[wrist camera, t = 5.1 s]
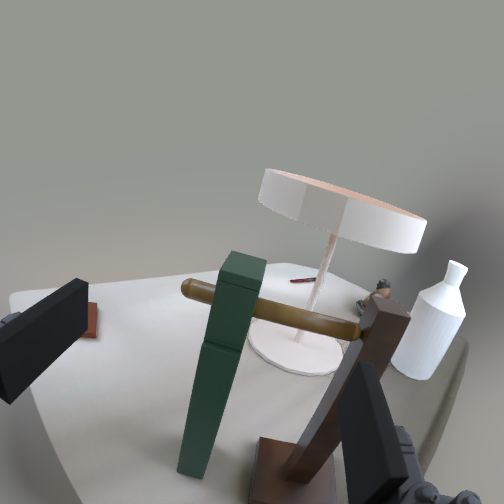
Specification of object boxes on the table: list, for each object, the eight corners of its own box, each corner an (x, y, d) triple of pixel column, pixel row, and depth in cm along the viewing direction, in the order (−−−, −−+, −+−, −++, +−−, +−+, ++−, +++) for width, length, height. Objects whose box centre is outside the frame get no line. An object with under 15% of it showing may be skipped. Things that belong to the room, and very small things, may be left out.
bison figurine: (370, 323, 79) (384, 290, 76) (349, 312, 83) (362, 278, 80) (385, 314, 88) (397, 283, 85) (366, 303, 92) (377, 274, 89)
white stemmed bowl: (225, 385, 45) (282, 178, 36) (222, 298, 73) (256, 163, 64) (385, 395, 50) (460, 235, 41) (337, 317, 78) (379, 199, 69)
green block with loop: (176, 472, 28) (217, 272, 21) (189, 436, 34) (232, 248, 27) (202, 479, 28) (261, 284, 21) (212, 443, 34) (267, 257, 27)
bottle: (387, 369, 59) (437, 260, 52) (390, 345, 69) (432, 250, 62) (433, 387, 55) (488, 281, 47) (431, 361, 65) (475, 268, 58)
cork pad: (40, 333, 42) (39, 328, 42) (48, 302, 50) (48, 298, 50) (95, 338, 46) (96, 333, 46) (96, 307, 55) (97, 302, 55)
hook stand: (145, 475, 27) (164, 272, 19) (171, 418, 36) (204, 235, 29) (331, 514, 26) (462, 348, 18) (328, 455, 35) (418, 295, 28)
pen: (287, 280, 94) (288, 278, 94) (317, 278, 103) (317, 276, 103) (291, 283, 93) (292, 281, 92) (321, 280, 102) (322, 279, 101)
